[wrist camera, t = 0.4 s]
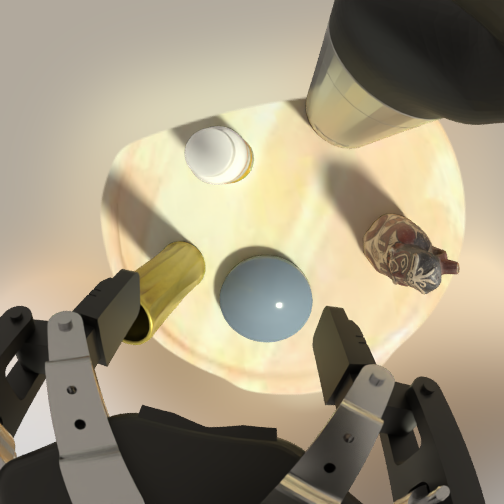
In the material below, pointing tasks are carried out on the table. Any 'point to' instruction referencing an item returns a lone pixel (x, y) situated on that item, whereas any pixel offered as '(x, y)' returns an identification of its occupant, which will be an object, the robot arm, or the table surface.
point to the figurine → (406, 254)
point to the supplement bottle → (219, 155)
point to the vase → (164, 287)
